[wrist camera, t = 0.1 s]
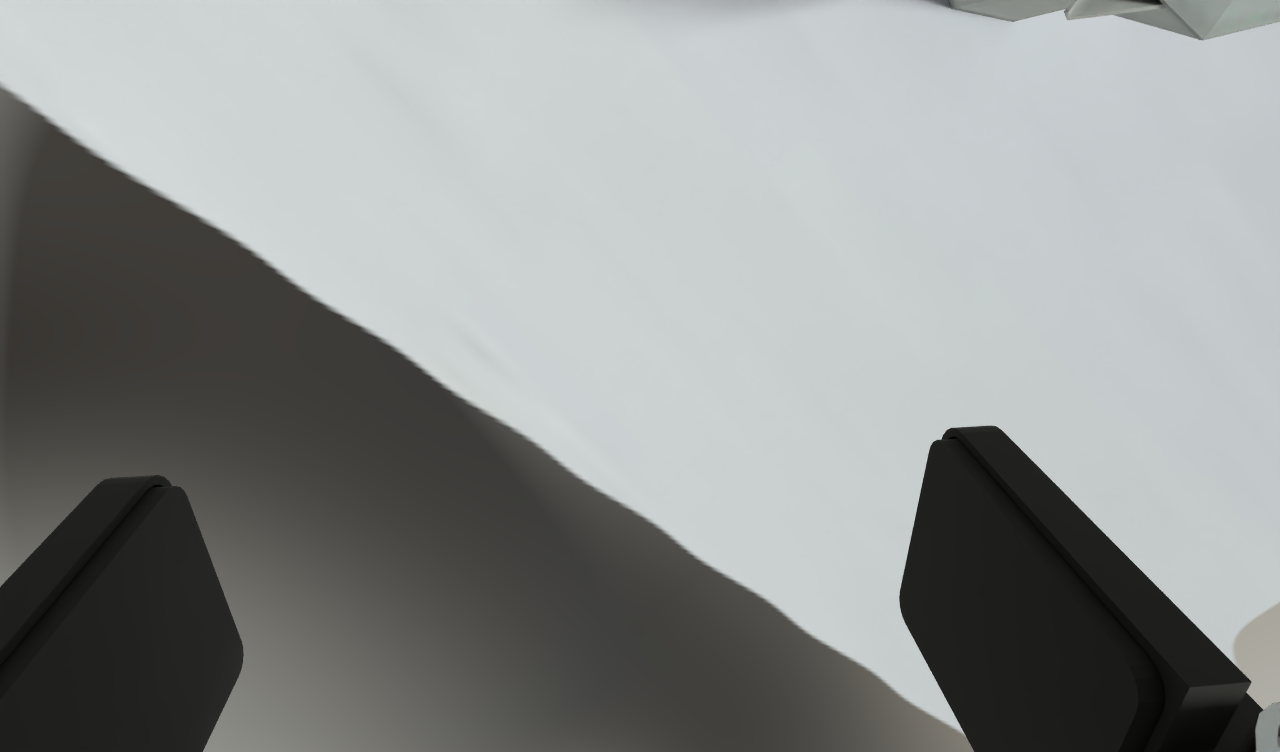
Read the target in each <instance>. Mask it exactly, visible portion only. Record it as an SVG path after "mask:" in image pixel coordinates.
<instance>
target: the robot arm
mask: <svg viewBox="0 0 1280 752" xmlns="http://www.w3.org/2000/svg"><path fill="white" fill-rule="evenodd" d="M899 599H900V608H901V613H902V616H903V619H904V621H905V623H906V625H907V627H908V629H909V631H910V633H911V635H912V636H913V638H914V640H915V642H916V644H917V646H918V648H919V650H920V651H921V653H922V655H923V657H924V659H925V661H926V663H927V664H928V666H929V668H930V670H931V672H932V674H933V676H934V677H935V679H936V681H937V683H938V685H939V687H940V689H941V690H942V692H943V694H944V696H945V698H946V700H947V702H948V704H949V705H950V707H951V709H952V711H953V713H954V715H955V717H956V718H957V720H958V722H959V724H960V726H961V728H962V730H963V731H964V733H965V735H966V737H967V739H968V741H969V743H970V744H971V746H972V748H973V750H974V752H1280V702H1277V703H1272V704H1271V705H1269V706H1268V707H1267V708H1266V709H1264V710H1263V709H1262V708H1261V707H1260V706H1259V705H1258V704H1257V703H1256V702H1255V701H1254V700H1253V699H1252V698H1251V697H1250V696H1249V695H1248V694H1247V693H1246V691H1247V690H1248V688H1249V686H1250V684H1251V681H1250V680H1249V679H1248V678H1247V677H1246V676H1245V675H1244V674H1243V673H1242V672H1241V671H1240V670H1239V669H1238V668H1237V667H1236V666H1235V665H1234V664H1233V663H1232V662H1231V661H1230V660H1229V659H1228V658H1227V657H1226V656H1225V655H1224V654H1223V653H1222V652H1221V651H1220V650H1219V649H1218V648H1217V647H1216V645H1215V644H1214V643H1213V642H1212V641H1211V640H1210V639H1209V638H1208V637H1207V636H1206V635H1205V634H1204V633H1203V632H1202V631H1201V630H1200V629H1199V628H1198V627H1197V626H1196V625H1195V624H1194V623H1193V622H1192V621H1191V620H1190V619H1189V618H1188V617H1187V616H1186V615H1185V614H1184V613H1183V612H1182V611H1181V610H1180V609H1179V608H1178V607H1177V606H1176V605H1175V604H1174V603H1173V602H1172V601H1171V600H1170V599H1169V598H1168V597H1167V596H1166V595H1165V594H1164V593H1163V592H1162V591H1161V590H1160V589H1159V588H1158V587H1157V586H1156V585H1155V584H1154V583H1153V582H1152V581H1151V580H1150V579H1149V578H1148V577H1147V576H1146V575H1145V574H1144V573H1143V572H1142V571H1141V570H1140V569H1139V568H1138V567H1137V566H1136V565H1135V564H1134V563H1133V562H1132V561H1131V560H1130V559H1129V558H1128V557H1127V556H1126V555H1125V554H1124V553H1123V552H1122V551H1121V550H1120V549H1119V548H1118V547H1117V546H1116V545H1115V544H1114V543H1113V542H1112V541H1111V540H1110V539H1109V538H1108V537H1107V536H1106V535H1105V534H1104V533H1103V532H1102V531H1101V530H1100V529H1099V528H1098V527H1097V526H1096V525H1095V524H1094V523H1093V522H1092V521H1091V520H1090V519H1089V518H1088V517H1087V516H1086V515H1085V514H1084V513H1083V512H1082V511H1081V510H1080V509H1079V508H1078V507H1077V505H1076V504H1075V503H1074V502H1073V501H1072V500H1071V499H1070V498H1069V497H1068V496H1067V495H1066V494H1065V493H1064V492H1063V491H1062V490H1061V489H1060V488H1059V487H1058V486H1057V485H1056V484H1055V483H1054V482H1053V481H1052V480H1051V479H1050V478H1049V477H1048V476H1047V475H1046V474H1045V473H1044V472H1043V471H1042V470H1041V469H1040V468H1039V467H1038V466H1037V465H1036V464H1035V463H1034V462H1033V461H1032V460H1031V459H1030V458H1029V457H1028V456H1027V455H1026V454H1025V453H1024V452H1023V451H1022V450H1021V449H1020V448H1019V447H1018V446H1017V445H1016V444H1015V443H1014V442H1013V441H1012V440H1011V439H1010V438H1009V437H1008V436H1007V435H1006V434H1005V433H1004V432H1003V431H1002V430H1001V429H999V428H998V427H996V426H977V427H960V428H950V429H948V430H947V431H946V432H945V433H944V435H943V437H942V440H936V441H934V442H933V443H932V445H931V447H930V450H929V454H928V459H927V464H926V469H925V474H924V478H923V483H922V488H921V493H920V498H919V503H918V507H917V512H916V517H915V522H914V527H913V531H912V536H911V541H910V546H909V551H908V555H907V560H906V565H905V570H904V575H903V579H902V584H901V589H900V596H899ZM242 663H243V645H242V641H241V639H240V636H239V633H238V631H237V628H236V625H235V623H234V620H233V617H232V615H231V612H230V609H229V606H228V604H227V601H226V599H225V596H224V593H223V590H222V588H221V586H220V582H219V580H218V577H217V575H216V572H215V569H214V567H213V564H212V561H211V558H210V556H209V553H208V550H207V548H206V545H205V543H204V540H203V537H202V535H201V532H200V529H199V527H198V524H197V521H196V518H195V516H194V513H193V510H192V508H191V505H190V502H189V500H188V497H187V495H186V493H185V491H184V490H183V489H182V488H181V487H177V486H172V485H171V483H170V482H169V481H168V480H167V479H166V478H165V477H162V476H159V475H155V476H138V477H137V476H136V477H119V478H109V479H105V480H103V481H102V482H100V483H99V484H98V485H97V486H96V487H95V488H94V489H93V490H92V491H91V492H90V493H89V494H88V495H87V496H86V497H85V498H84V499H83V501H82V502H81V503H80V504H79V505H78V506H77V507H76V508H75V509H74V510H73V511H72V512H71V513H70V514H69V515H68V516H67V517H66V518H65V520H63V522H62V523H61V524H60V525H59V526H58V527H57V528H56V529H55V530H54V531H53V532H52V533H51V534H50V535H49V536H48V537H47V538H46V539H45V540H44V542H43V543H42V544H41V545H40V546H39V547H38V548H37V549H36V550H35V551H34V552H33V553H32V554H31V555H30V556H29V557H28V558H27V559H26V561H25V562H24V563H23V564H22V565H21V566H20V567H19V568H18V569H17V570H16V571H15V572H14V573H13V574H12V575H11V576H10V577H9V578H8V579H7V580H6V582H5V583H4V584H3V585H2V586H1V587H0V752H203V750H204V748H205V745H206V744H207V742H208V739H209V737H210V735H211V733H212V731H213V729H214V727H215V725H216V723H217V721H218V719H219V716H220V714H221V712H222V710H223V708H224V706H225V704H226V702H227V700H228V698H229V695H230V693H231V691H232V689H233V687H234V685H235V683H236V681H237V679H238V677H239V674H240V671H241V668H242Z"/></svg>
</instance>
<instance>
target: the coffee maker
mask: <svg viewBox="0 0 1280 752" xmlns="http://www.w3.org/2000/svg"><path fill="white" fill-rule="evenodd" d="M948 1H949V3H950V6H951V8H952V9H956V10H961V11H965V12H970V13H975V14H979V15H984V16H989V17H993V18H998V19H1003V20H1007V21H1012V22H1014V21H1018V20H1022V19H1026V18H1030V17H1034V16H1038V15H1043V14H1047V13H1051V12H1055V11H1059V10H1063V9H1066V10H1065V11H1064V13H1065V16H1066V18H1067V20H1073V19H1081V18H1089V17H1098V16H1106V15H1116V16H1119V17H1123V18H1126V19H1130V20H1133V21H1137V22H1140V23H1144V24H1147V25H1151V26H1154V27H1158V28H1161V29H1165V30H1168V31H1172V32H1175V33H1179V34H1182V35H1186V36H1189V37H1193V38H1196V39H1199V40H1206V39H1211V38H1215V37H1219V36H1223V35H1227V34H1231V33H1235V32H1239V31H1244V30H1248V29H1252V28H1256V27H1260V26H1264V25H1268V24H1272V23H1277V22H1280V0H948Z"/></svg>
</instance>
